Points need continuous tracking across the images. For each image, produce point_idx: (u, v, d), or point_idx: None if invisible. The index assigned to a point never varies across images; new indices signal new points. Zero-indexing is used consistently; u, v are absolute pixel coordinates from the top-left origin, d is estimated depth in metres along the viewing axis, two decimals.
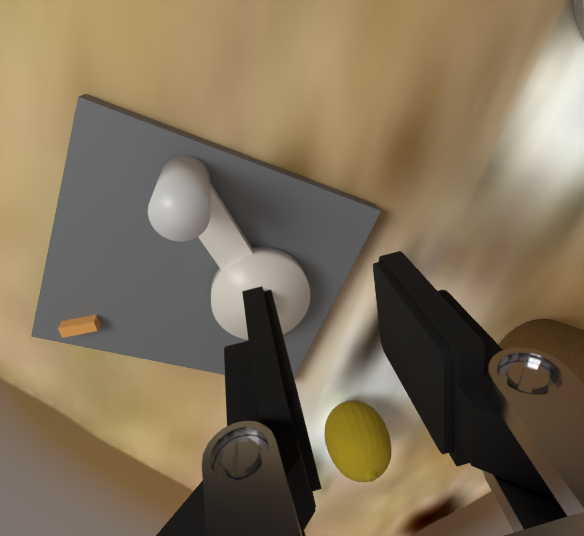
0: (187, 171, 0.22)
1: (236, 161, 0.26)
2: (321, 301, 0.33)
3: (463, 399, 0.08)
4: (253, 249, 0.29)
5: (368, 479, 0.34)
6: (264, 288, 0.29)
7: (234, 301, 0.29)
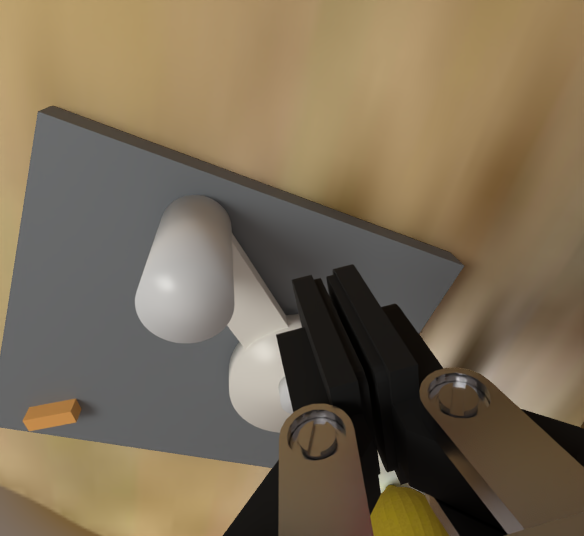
0: (198, 229, 0.15)
1: (269, 202, 0.18)
2: None
3: (398, 419, 0.07)
4: (288, 318, 0.21)
5: None
6: None
7: (260, 387, 0.21)
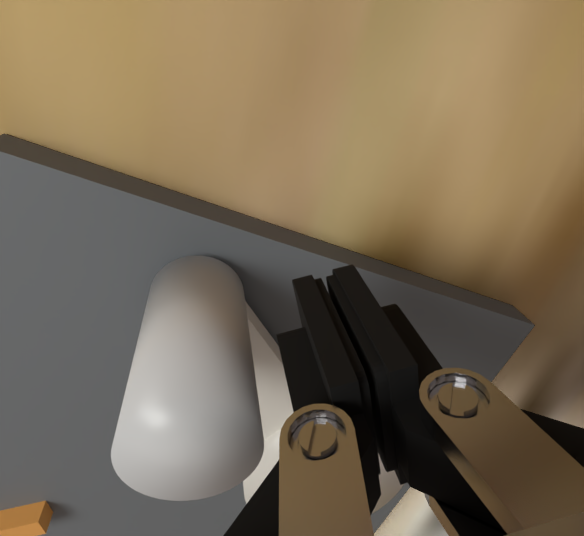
0: (204, 320, 0.10)
1: (300, 257, 0.14)
2: None
3: (397, 419, 0.07)
4: None
5: None
6: None
7: None
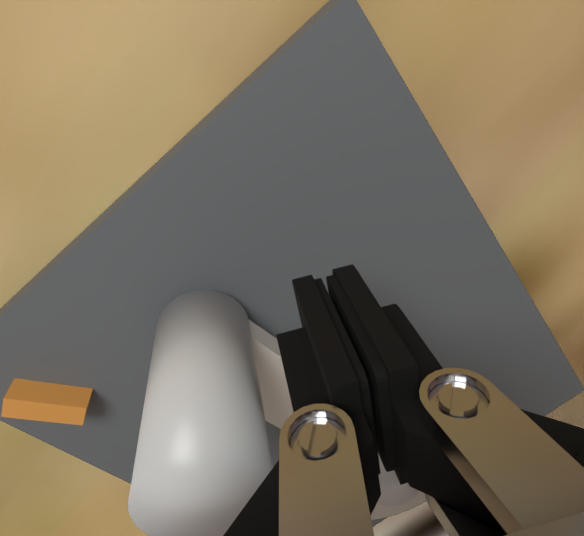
0: (196, 364, 0.10)
1: (490, 245, 0.15)
2: None
3: (397, 419, 0.07)
4: None
5: None
6: None
7: None
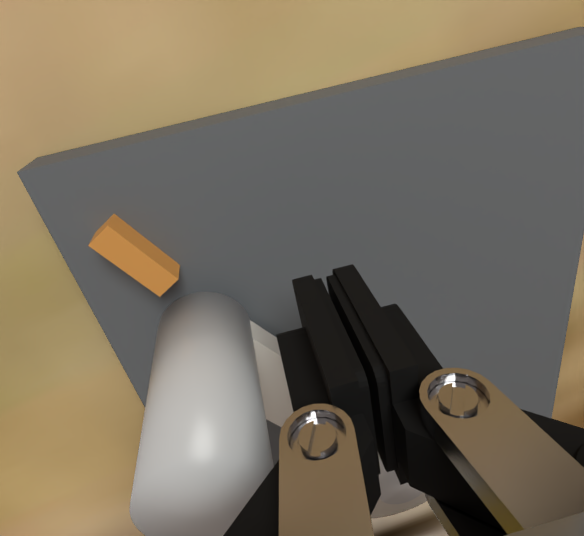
0: (196, 367, 0.10)
1: (566, 295, 0.17)
2: None
3: (397, 420, 0.07)
4: None
5: None
6: None
7: None
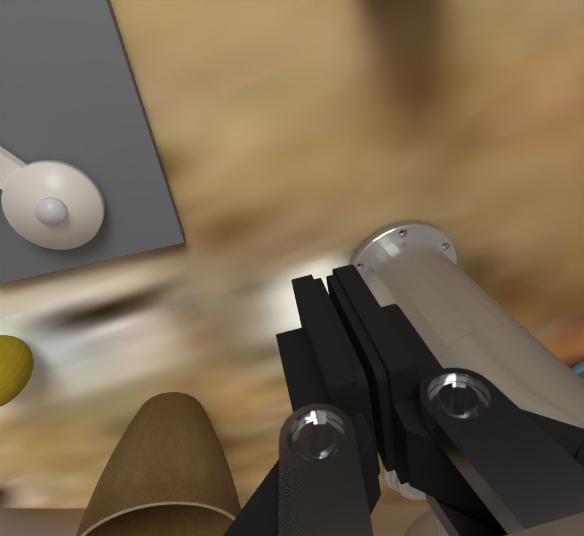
0: None
1: (141, 122, 0.32)
2: (88, 253, 0.37)
3: (398, 419, 0.07)
4: (26, 165, 0.32)
5: None
6: (48, 197, 0.32)
7: (29, 216, 0.32)
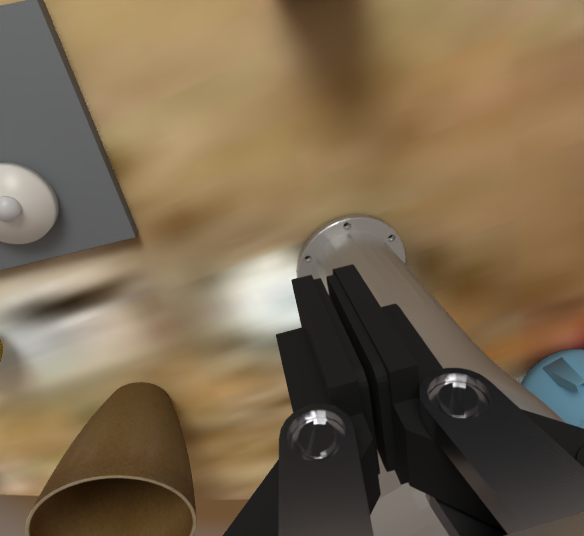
0: None
1: (86, 127, 0.36)
2: (47, 248, 0.40)
3: (398, 420, 0.07)
4: None
5: None
6: (3, 196, 0.36)
7: None
